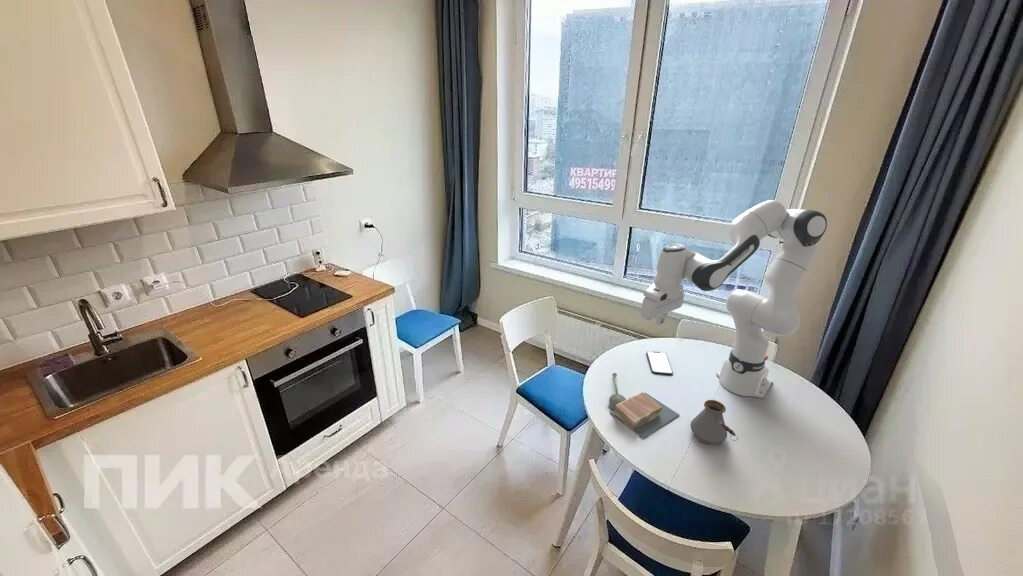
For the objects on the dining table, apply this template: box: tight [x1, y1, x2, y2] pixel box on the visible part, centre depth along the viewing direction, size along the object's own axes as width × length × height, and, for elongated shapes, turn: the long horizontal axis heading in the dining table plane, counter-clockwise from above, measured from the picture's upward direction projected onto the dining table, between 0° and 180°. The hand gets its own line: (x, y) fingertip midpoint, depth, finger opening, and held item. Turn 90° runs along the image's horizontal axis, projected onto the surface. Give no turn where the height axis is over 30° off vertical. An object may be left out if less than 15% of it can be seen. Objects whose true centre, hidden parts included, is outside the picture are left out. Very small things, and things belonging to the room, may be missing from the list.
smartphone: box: [646, 350, 674, 376], centre depth 178 cm, size 9×2×16 cm
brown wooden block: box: [614, 391, 662, 431], centre depth 146 cm, size 4×9×14 cm
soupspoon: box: [608, 372, 627, 410], centre depth 159 cm, size 22×3×7 cm
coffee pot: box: [689, 399, 739, 445], centre depth 132 cm, size 21×12×15 cm, turn 174°
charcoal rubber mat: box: [609, 392, 680, 440], centre depth 148 cm, size 20×15×1 cm
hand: (659, 323), depth 151 cm, fingers closed
